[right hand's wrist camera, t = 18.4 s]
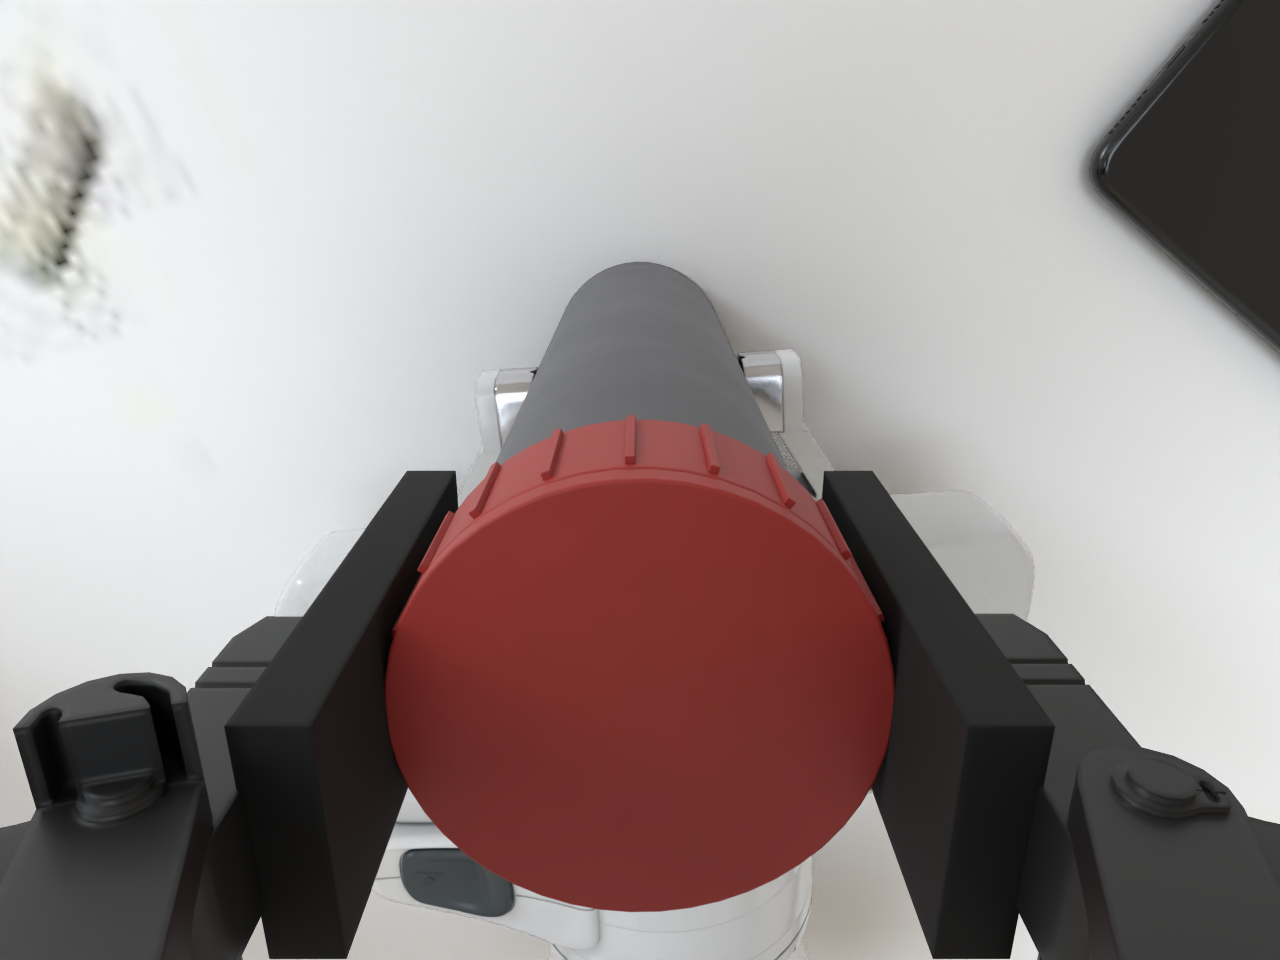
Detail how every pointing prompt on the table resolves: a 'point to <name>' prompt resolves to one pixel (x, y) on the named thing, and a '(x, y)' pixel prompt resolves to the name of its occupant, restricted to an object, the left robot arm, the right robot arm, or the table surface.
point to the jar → (639, 363)
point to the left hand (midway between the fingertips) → (635, 363)
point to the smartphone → (1209, 161)
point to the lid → (639, 670)
